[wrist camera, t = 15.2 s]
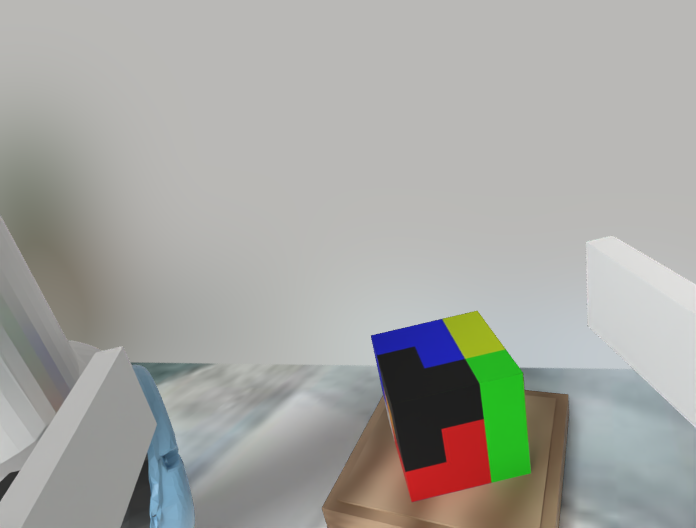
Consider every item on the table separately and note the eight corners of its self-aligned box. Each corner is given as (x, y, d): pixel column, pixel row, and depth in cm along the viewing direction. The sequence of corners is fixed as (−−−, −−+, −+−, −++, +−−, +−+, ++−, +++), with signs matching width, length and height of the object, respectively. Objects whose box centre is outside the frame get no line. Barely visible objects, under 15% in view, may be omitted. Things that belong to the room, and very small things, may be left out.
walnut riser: (328, 529, 45) (321, 506, 44) (396, 394, 59) (392, 374, 58) (553, 587, 37) (551, 561, 36) (569, 415, 51) (568, 392, 50)
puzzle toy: (388, 421, 51) (370, 335, 48) (487, 397, 52) (477, 310, 48) (411, 502, 42) (391, 404, 38) (531, 473, 43) (523, 373, 39)
